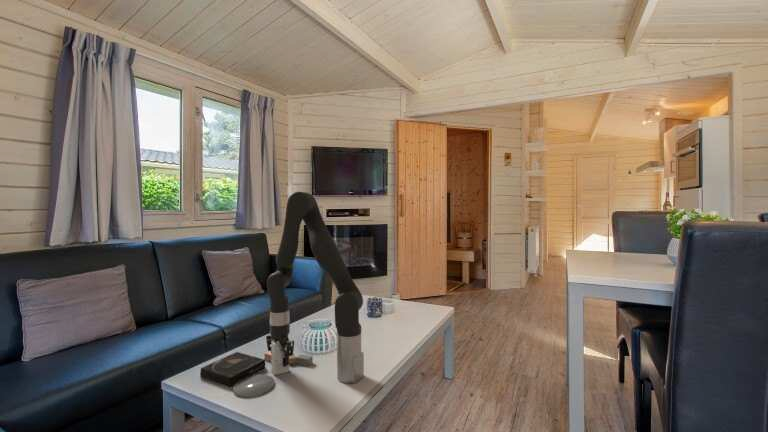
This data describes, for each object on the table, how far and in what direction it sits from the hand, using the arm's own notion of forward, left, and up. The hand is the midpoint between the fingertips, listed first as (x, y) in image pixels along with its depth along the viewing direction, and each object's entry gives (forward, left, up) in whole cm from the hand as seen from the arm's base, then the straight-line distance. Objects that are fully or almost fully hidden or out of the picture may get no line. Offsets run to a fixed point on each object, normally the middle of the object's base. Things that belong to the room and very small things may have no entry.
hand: (280, 363), depth 138 cm
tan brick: (+3, -8, -3) cm, 9 cm away
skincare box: (0, 0, -3) cm, 3 cm away
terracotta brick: (+11, -5, -3) cm, 12 cm away
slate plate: (-1, +13, -3) cm, 13 cm away
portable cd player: (+15, +10, -4) cm, 19 cm away
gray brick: (-3, -10, -3) cm, 11 cm away
